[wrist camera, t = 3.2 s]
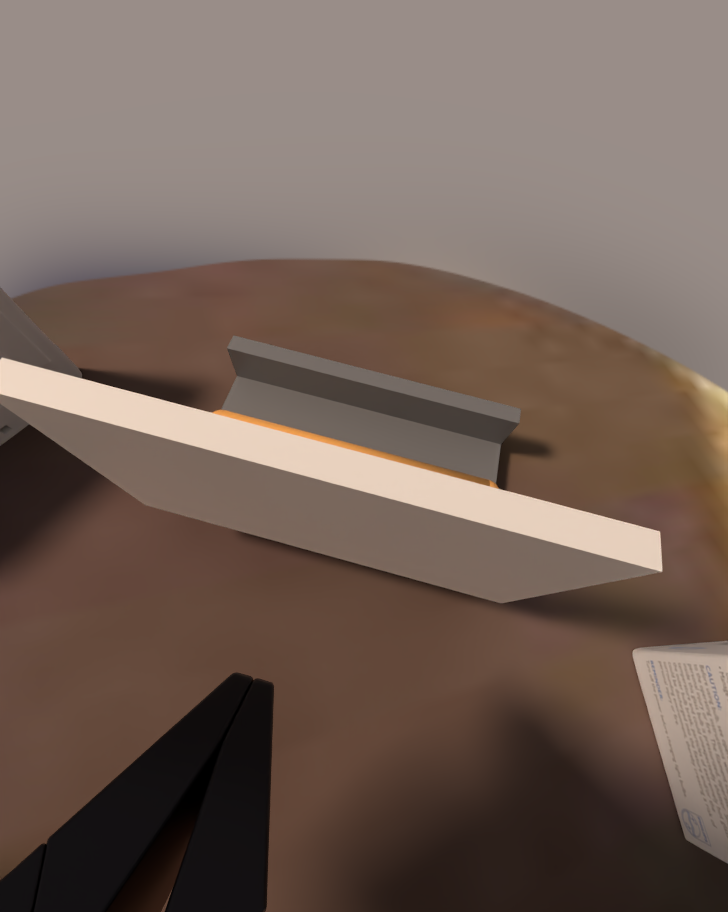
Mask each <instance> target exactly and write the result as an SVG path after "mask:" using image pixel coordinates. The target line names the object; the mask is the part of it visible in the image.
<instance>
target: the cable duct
mask: <svg viewBox="0 0 728 912" xmlns="http://www.w3.org/2000/svg"><path fill="white" fill-rule="evenodd" d="M227 349H228V352H229V355H230V358H231V360H232V363H233V366H234V368H235V371H236V374H237V377H236V380H235V382H234V384H233V386H232V388H231V390H230V392H229V394H228V396H227V398H226V400H225V402H224V405H223V407H222V409H221V410H217V411H214V412H213V413H214V414H217V415H221V416H225V417H229V418H233V419H236V420H240V421H244V422H248V423H251V424H255V425H259V426H263V427H267V428H270V429H274V430H278V431H282V432H286V433H289V434H293V435H297V436H301V437H304V438H308V439H312V440H316V441H320V442H323V443H327V444H331V445H335V446H338V447H342V448H346V449H350V450H354V451H357V452H361V453H365V454H369V455H372V456H376V457H380V458H384V459H388V460H391V461H395V462H399V463H403V464H406V465H410V466H414V467H418V468H422V469H425V470H429V471H433V472H437V473H440V474H444V475H448V476H452V477H456V478H459V479H463V480H467V481H471V482H474V483H478V484H482V485H486V486H490V487H493V488H497V489H499V488H498V486H497V485H496V480H497V472H498V464H499V456H500V448H501V444H502V443H503V441H504V440H505V439H506V438H507V437H508V436H509V435H510V433H511V432H512V431H513V430H514V429H515V428H516V427H517V425H518V424H519V421H520V412H521V409H519V408H515V407H511V406H507V405H504V404H500V403H496V402H492V401H488V400H484V399H480V398H476V397H472V396H468V395H464V394H461V393H457V392H453V391H449V390H445V389H441V388H437V387H433V386H429V385H425V384H421V383H418V382H414V381H410V380H406V379H402V378H398V377H394V376H390V375H386V374H382V373H378V372H375V371H371V370H367V369H363V368H359V367H355V366H351V365H347V364H343V363H339V362H335V361H331V360H328V359H324V358H320V357H316V356H312V355H308V354H304V353H300V352H296V351H292V350H288V349H285V348H281V347H277V346H273V345H269V344H265V343H261V342H257V341H253V340H249V339H245V338H242V337H238V336H233V338H232V340H231V341H230V343H229V345H228V347H227Z"/></svg>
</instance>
